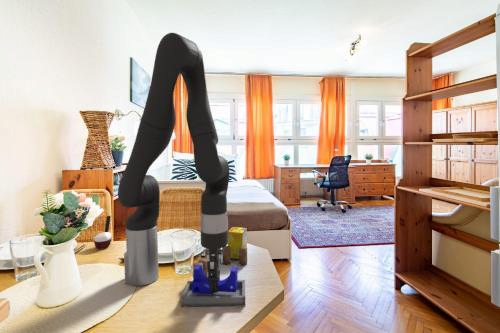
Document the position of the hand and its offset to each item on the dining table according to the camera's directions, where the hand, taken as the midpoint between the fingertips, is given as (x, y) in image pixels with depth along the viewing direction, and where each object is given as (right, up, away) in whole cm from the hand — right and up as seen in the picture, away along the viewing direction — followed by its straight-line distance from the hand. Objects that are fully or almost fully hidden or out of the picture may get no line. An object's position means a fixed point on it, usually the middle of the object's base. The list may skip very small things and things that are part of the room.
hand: (215, 286), depth 77 cm
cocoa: (-51, 0, +37) cm, 63 cm away
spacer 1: (-6, -2, +8) cm, 11 cm away
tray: (0, -3, 0) cm, 3 cm away
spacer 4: (+1, -1, +22) cm, 22 cm away
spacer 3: (-5, -1, +20) cm, 21 cm away
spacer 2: (-5, -2, +11) cm, 13 cm away
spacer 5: (+7, -1, +22) cm, 23 cm away
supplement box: (+5, -1, +27) cm, 28 cm away
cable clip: (0, -1, 0) cm, 1 cm away
